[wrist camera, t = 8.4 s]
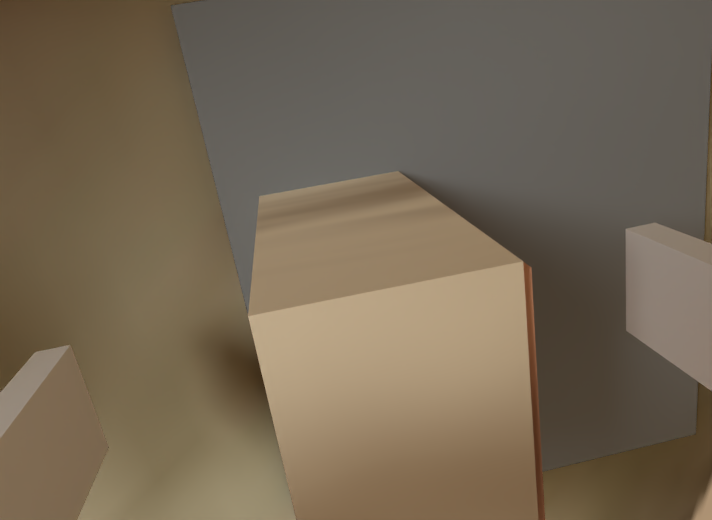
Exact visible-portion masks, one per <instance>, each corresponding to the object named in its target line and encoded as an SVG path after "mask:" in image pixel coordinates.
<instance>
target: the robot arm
mask: <svg viewBox="0 0 712 520" xmlns="http://www.w3.org/2000/svg"><path fill="white" fill-rule="evenodd" d="M626 331H627V332H629V333H630V334H632V335H633V336H634V337H636V338H637V339H639V340H640V341H641V342H643V343H644V344H646V345H647V346H649V347H650V348H651V349H653V350H654V351H656V352H657V353H658V354H660V355H661V356H663V357H664V358H665V359H667V360H668V361H670V362H671V363H673V364H674V365H675V366H677V367H678V368H680V369H681V370H682V371H684V372H685V373H687V374H688V375H690V376H691V377H692V378H694V379H695V380H697V381H698V382H699V383H701V384H702V385H704V386H705V387H706V388H708V389H709V390H711V391H712V244H711V243H708V242H706V241H703V240H700V239H698V238H695V237H692V236H690V235H687V234H684V233H682V232H679V231H676V230H674V229H671V228H668V227H666V226H663V225H660V224H658V223H651V224H646V225H641V226H636V227H632V228H627V229H626ZM108 448H109V447H108V444H107V441H106V438H105V436H104V433H103V430H102V428H101V425H100V422H99V420H98V417H97V414H96V412H95V409H94V406H93V404H92V401H91V398H90V396H89V393H88V390H87V387H86V385H85V382H84V379H83V377H82V374H81V371H80V369H79V366H78V363H77V361H76V358H75V355H74V353H73V350H72V347H71V345H67V346H62V347H57V348H52V349H48V350H43V351H38V352H35V353H34V354H33V355H32V356H31V357H30V359H29V360H28V361H27V362H26V363H25V364H24V366H23V367H22V368H21V369H20V370H19V371H18V373H17V374H16V375H15V376H14V377H13V378H12V380H11V381H10V382H9V383H8V384H7V385H6V387H5V388H4V389H3V390H2V391H1V392H0V520H77V519H78V516H79V514H80V512H81V509H82V507H83V505H84V503H85V500H86V498H87V496H88V494H89V491H90V489H91V487H92V484H93V482H94V480H95V478H96V475H97V473H98V471H99V468H100V466H101V464H102V462H103V459H104V457H105V455H106V452H107V450H108Z"/></svg>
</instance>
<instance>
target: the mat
mask: <svg viewBox="0 0 712 520" xmlns="http://www.w3.org/2000/svg"><path fill="white" fill-rule="evenodd" d="M171 9H172V13H173V17H174V21H175V25H176V29H177V33H178V37H179V41H180V45H181V49H182V53H183V57H184V61H185V65H186V69H187V73H188V77H189V81H190V85H191V89H192V93H193V97H194V101H195V105H196V109H197V113H198V117H199V121H200V125H201V129H202V133H203V137H204V141H205V145H206V149H207V153H208V157H209V161H210V165H211V169H212V173H213V177H214V181H215V185H216V189H217V193H218V197H219V201H220V205H221V209H222V213H223V217H224V221H225V225H226V229H227V233H228V237H229V241H230V245H231V249H232V253H233V257H234V261H235V265H236V269H237V273H238V277H239V281H240V285H241V289H242V293H243V297H244V301H245V305H246V309H247V313H248V312H249V301H250V290H251V280H252V269H253V258H254V247H255V237H256V226H257V215H258V205H259V196H263V195H269V194H274V193H280V192H285V191H291V190H296V189H302V188H307V187H313V186H318V185H324V184H329V183H335V182H341V181H346V180H352V179H357V178H363V177H368V176H374V175H379V174H385V173H390V172H396V171H399V172H400V173H402V174H403V175H404V176H406V177H407V178H408V179H410V180H411V181H413V182H414V183H415V184H417V185H418V186H420V187H421V188H422V189H424V190H425V191H426V192H428V193H429V194H431V195H432V196H433V197H435V198H436V199H438V200H439V201H440V202H442V203H443V204H444V205H446V206H447V207H449V208H450V209H451V210H453V211H454V212H456V213H457V214H458V215H460V216H461V217H463V218H464V219H465V220H467V221H468V222H469V223H471V224H472V225H474V226H475V227H476V228H478V229H479V230H481V231H482V232H483V233H485V234H486V235H487V236H489V237H490V238H492V239H493V240H494V241H496V242H497V243H499V244H500V245H501V246H503V247H504V248H505V249H507V250H508V251H510V252H511V253H512V254H514V255H515V256H517V257H518V258H519V259H521V260H522V261H523V262H525V263H526V264H527V265H529V266H530V267H531V269H532V287H533V306H534V325H535V343H536V362H537V380H538V399H539V418H540V436H541V455H542V472H543V471H547V470H552V469H556V468H560V467H564V466H568V465H572V464H576V463H580V462H584V461H588V460H592V459H596V458H601V457H605V456H609V455H613V454H617V453H621V452H625V451H629V450H633V449H637V448H641V447H645V446H650V445H654V444H658V443H662V442H666V441H670V440H674V439H678V438H682V437H686V436H690V435H695V434H696V418H697V394H698V381H697V380H695V379H694V378H692V377H691V376H690V375H688V374H687V373H685V372H684V371H682V370H681V369H680V368H678V367H677V366H675V365H674V364H673V363H671V362H670V361H668V360H667V359H665V358H664V357H663V356H661V355H660V354H658V353H657V352H656V351H654V350H653V349H651V348H650V347H649V346H647V345H646V344H644V343H643V342H641V341H640V340H639V339H637V338H636V337H634V336H633V335H632V334H630V333H629V332H627V331H626V229H627V228H632V227H636V226H641V225H646V224H651V223H658V224H660V225H663V226H666V227H668V228H671V229H674V230H676V231H679V232H682V233H684V234H687V235H690V236H692V237H695V238H698V239H700V240H703V241H704V226H705V202H706V178H707V154H708V130H709V106H710V83H711V59H712V0H202V1H196V2H190V3H184V4H177V5H171Z"/></svg>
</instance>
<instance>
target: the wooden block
mask: <svg viewBox="0 0 712 520" xmlns="http://www.w3.org/2000/svg"><path fill="white" fill-rule="evenodd" d="M248 318H249V322H250V326H251V331H252V335H253V339H254V343H255V347H256V352H257V356H258V360H259V364H260V368H261V373H262V377H263V381H264V385H265V390H266V394H267V398H268V402H269V406H270V411H271V415H272V419H273V423H274V427H275V432H276V436H277V440H278V444H279V448H280V453H281V457H282V461H283V465H284V470H285V474H286V478H287V482H288V486H289V491H290V495H291V499H292V503H293V507H294V512H295V516H296V520H545V511H544V492H543V474H542V455H541V436H540V418H539V399H538V380H537V362H536V343H535V325H534V306H533V287H532V269H531V267H530V266H529V265H527V264H526V263H525V262H523V261H522V260H521V259H519V258H518V257H517V256H515V255H514V254H512V253H511V252H510V251H508V250H507V249H505V248H504V247H503V246H501V245H500V244H499V243H497V242H496V241H494V240H493V239H492V238H490V237H489V236H487V235H486V234H485V233H483V232H482V231H481V230H479V229H478V228H476V227H475V226H474V225H472V224H471V223H469V222H468V221H467V220H465V219H464V218H463V217H461V216H460V215H458V214H457V213H456V212H454V211H453V210H451V209H450V208H449V207H447V206H446V205H444V204H443V203H442V202H440V201H439V200H438V199H436V198H435V197H433V196H432V195H431V194H429V193H428V192H426V191H425V190H424V189H422V188H421V187H420V186H418V185H417V184H415V183H414V182H413V181H411V180H410V179H408V178H407V177H406V176H404V175H403V174H402V173H400V172H399V171H396V172H390V173H385V174H379V175H374V176H368V177H363V178H357V179H352V180H346V181H341V182H335V183H329V184H324V185H318V186H313V187H307V188H302V189H296V190H291V191H285V192H280V193H274V194H269V195H263V196H259V205H258V215H257V226H256V237H255V247H254V258H253V269H252V280H251V290H250V301H249V312H248Z"/></svg>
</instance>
